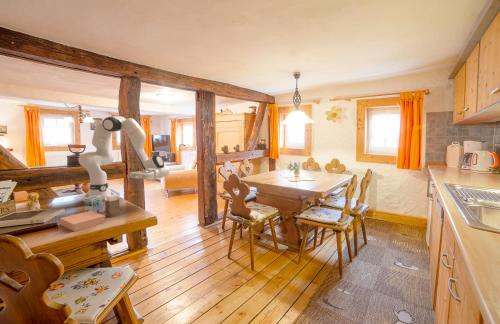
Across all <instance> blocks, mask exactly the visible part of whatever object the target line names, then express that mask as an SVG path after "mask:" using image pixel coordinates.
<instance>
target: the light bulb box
mask: <svg viewBox="0 0 500 324" xmlns="http://www.w3.org/2000/svg"><path fill="white" fill-rule="evenodd" d="M83 199H84V201H83V202H84V212H87V211H93V212H96V213H99V214H101V213H104V212H106V211H105V195H95V196H92V197H88V198H85V197H84V198H83Z"/></svg>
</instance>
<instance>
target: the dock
mask: <svg viewBox="0 0 500 324" xmlns="http://www.w3.org/2000/svg"><path fill="white" fill-rule="evenodd" d="M59 220H60V221H59V222H60V226H63V227H64V228H67V229H69V230H70V231H73V232H78V231H81V230H84V229H88V228H91V227H94V226H98V225H101V224H104V223H106V215H104V214H101V213H96V212H93V211H87V212H85V211H84V212H80V213H76V214H72V215H68V216H64V217H60V218H59Z"/></svg>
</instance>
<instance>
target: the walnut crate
mask: <svg viewBox="0 0 500 324" xmlns="http://www.w3.org/2000/svg"><path fill="white" fill-rule="evenodd" d="M120 207H121V206H120V199H118V198H117V200H115V201H107V200H105V211H104V212H105V217H109V218H114V217H118V216H121V208H120Z"/></svg>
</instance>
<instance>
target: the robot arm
mask: <svg viewBox="0 0 500 324" xmlns="http://www.w3.org/2000/svg"><path fill="white" fill-rule="evenodd" d="M94 127H95V128H94V130H93V135H92V139H91V144H92V145H93V147H94V148H96V149H95V150H96V151H89V152H88V151H87V152H84V153H81V154H80V155H78V159H77V160H78V163H79V165H80V166H81V167H83V168H84V169H85V170H86V171H87V173H88V174H89V175H88V176H89V181H90V182H89V183H90V184H89V190H88V191H87V192H86V193H85V195H84V198H83V199H82V202H84V199H85V198H88V197H92V196H95V195H105V200H107V199H106V196H109V195H112V192H111V188H110V187H109V183H108V176H107V172H105V170H102V169H101V166H106V165H109V164H112V163H113V161H114V159H115V157H114V154H113V153H112V152H111V150H110V140H111V138H112V137H111V136H112V133H114V132H120V131H124V132H125V134H126V135H127V136H128V138H129V140H130V142H131V143H132V148H133V150H134V152H135V155H136V156H137V158H138V159H139V161H140V164H141V167H142V169H143V171H131V172H130V173H129V174H127V175H126V177H127V178H128V179H129V178H133V179H135V180H139V179H140V180H146V181H154V180H155V181H156V180H157V179H163V178H166V177H168V176H169V175H170V173H171V172H170V171H171V170H170V167H169V166H167V165H166V163H165V161H164V158H163V157H162V156H161V155H159V154H153V155H151V157H148V155H147V153H146V152H145V150H144V144H145V142H146V139H147V135H146V132H145V131H144V129H143V128H142V126H141V125H140V124H139V123H138V122H137V120H135V118H132V117H128V118H127V117H126V116H123V115H113V116H107V117H105V118H104V119H103V120H98V122H97V123H96V126H94Z"/></svg>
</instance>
